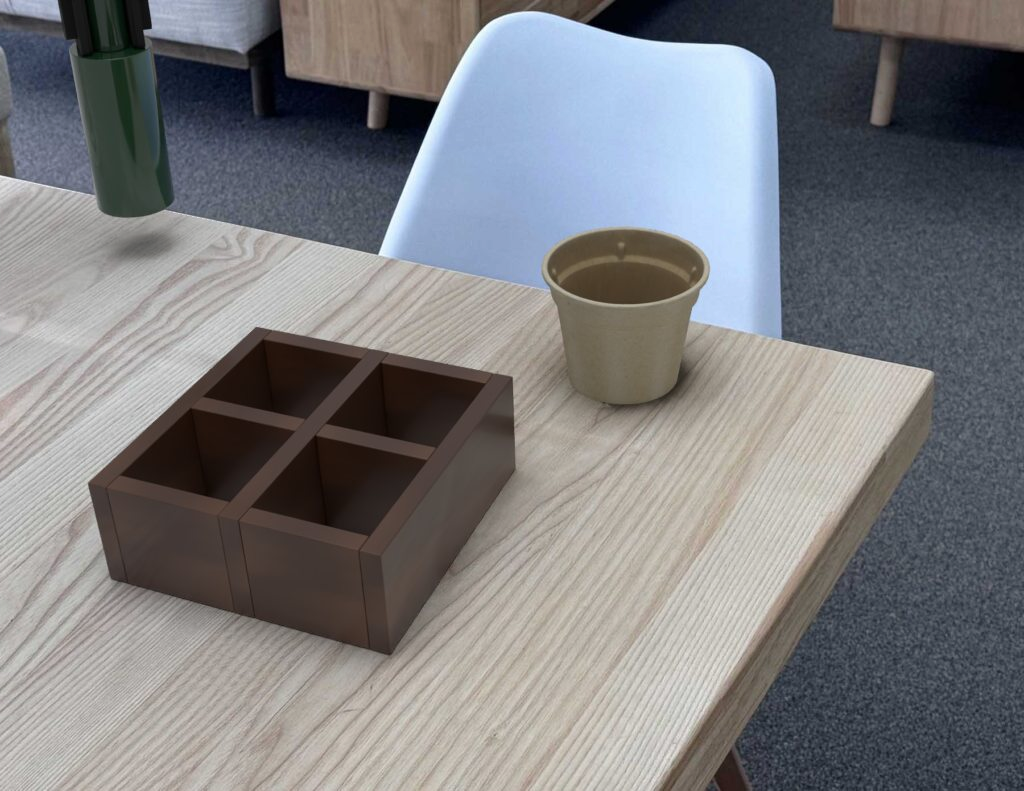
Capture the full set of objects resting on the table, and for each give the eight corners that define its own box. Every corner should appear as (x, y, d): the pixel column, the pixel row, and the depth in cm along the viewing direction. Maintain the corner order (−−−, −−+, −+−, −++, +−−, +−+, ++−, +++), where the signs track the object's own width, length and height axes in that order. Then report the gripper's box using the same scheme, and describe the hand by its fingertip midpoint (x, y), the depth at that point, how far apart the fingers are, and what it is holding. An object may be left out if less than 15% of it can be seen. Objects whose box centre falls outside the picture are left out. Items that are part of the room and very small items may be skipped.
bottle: (81, 210, 95) (37, -26, 86) (126, 181, 99) (88, -48, 90) (146, 223, 93) (107, -16, 85) (189, 192, 97) (156, -39, 89)
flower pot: (697, 444, 79) (705, 310, 74) (532, 431, 80) (529, 299, 75) (706, 356, 86) (714, 230, 82) (555, 346, 88) (554, 222, 83)
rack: (109, 578, 70) (86, 482, 67) (268, 414, 82) (255, 325, 79) (390, 655, 65) (380, 555, 62) (516, 467, 77) (513, 376, 74)
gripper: (186, -285, 86) (221, 12, 96) (-96, -268, 80) (-27, 44, 90) (213, -268, 80) (248, 46, 90) (-88, -249, 75) (-15, 82, 85)
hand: (110, 42), depth 90 cm, fingers closed on bottle, 2 cm apart
